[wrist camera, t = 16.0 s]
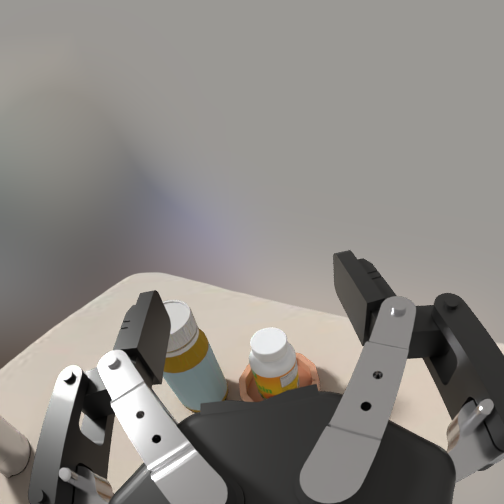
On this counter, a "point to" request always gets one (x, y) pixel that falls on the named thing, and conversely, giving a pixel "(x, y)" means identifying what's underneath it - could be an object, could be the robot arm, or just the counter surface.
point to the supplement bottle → (273, 362)
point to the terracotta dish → (305, 374)
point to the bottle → (191, 360)
